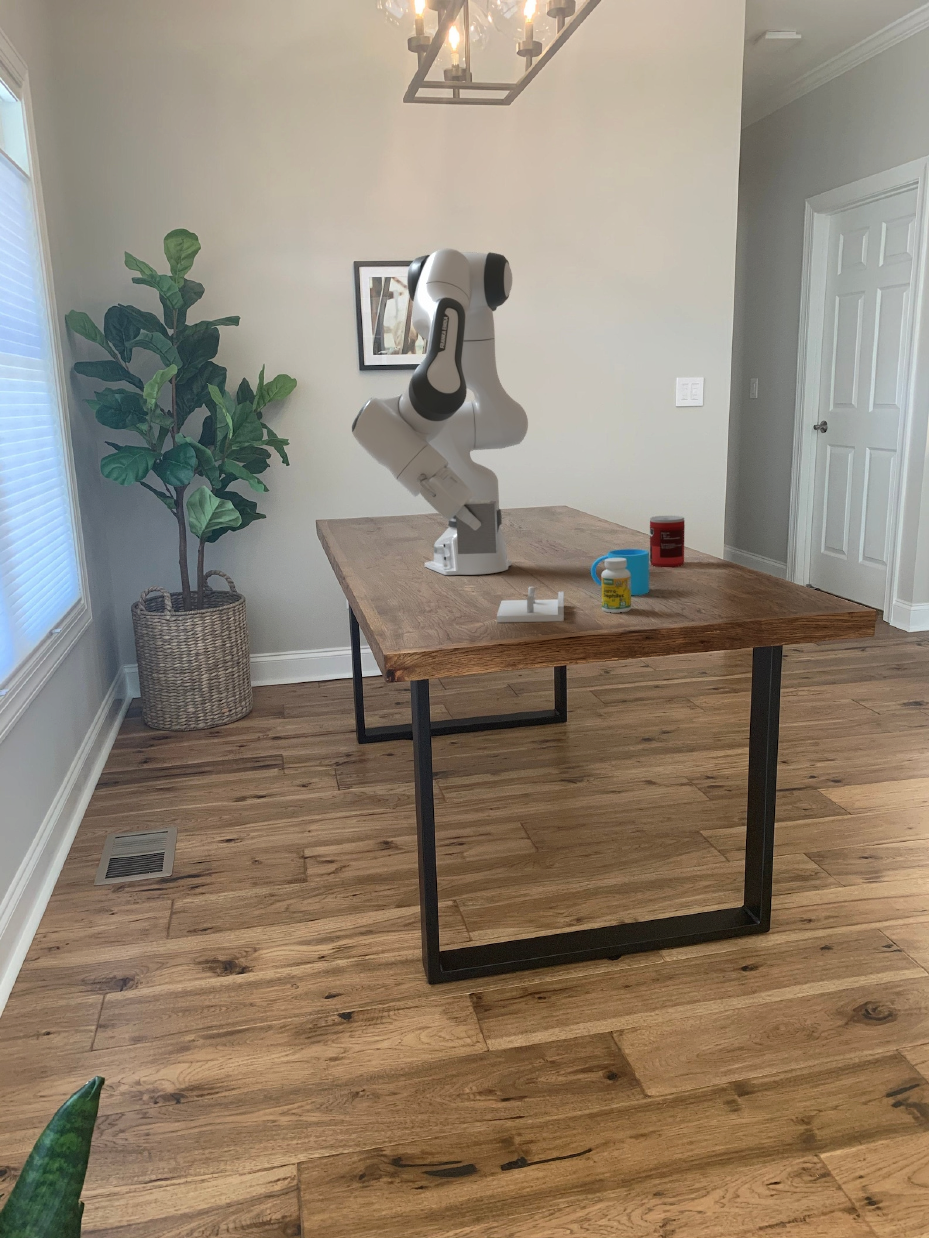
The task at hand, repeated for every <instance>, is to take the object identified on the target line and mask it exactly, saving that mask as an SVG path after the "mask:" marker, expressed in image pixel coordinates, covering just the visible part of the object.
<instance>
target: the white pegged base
mask: <svg viewBox="0 0 929 1238" xmlns="http://www.w3.org/2000/svg"><path fill="white" fill-rule="evenodd" d="M557 594H558V595H557V598H556V599H554V598H553V599H536V587H535V586H529V587H528V595H526V599H518V600H517V599H514V600H513V599H512V600H511V599H510V600H501V602H500V605H499V608H498V610H497V615H496V623H532V622H533V623H535V622H536V623H538V622H539V623H540V622H545V623H546V622H564V621H565V620H564V618H565V613H564V612H565V611H564V610H565V601H564V600H565V597H564V596H565V593H564V591H557Z"/></svg>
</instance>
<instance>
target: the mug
mask: <svg viewBox="0 0 929 1238" xmlns="http://www.w3.org/2000/svg"><path fill="white" fill-rule="evenodd" d="M608 558H625V559H626V560H627V566H626V567H625V569H627V570H628V571H629V572H630V574H631V595H639V596H643V595H642V594H644V595H646V594H645V593H647V594H649V593H650V550H649V551H648V550H646V549H639V548H625V549H624V548H621V549H614V550H610V551H608V552H607V554H605V555H603V556H600V557H597V559H596V560H595V561H594V562H593V563H592V564H591V568H590V573H591V578H592V579H593V581H594V582H595V583H596V584H597V585H599V587H602V584H601V580H600V579H599V577H598V576H597V573H596V571H597V567H598V565H599V564H600V563H601V562H603V561H605V559H608ZM648 592H649V593H648Z"/></svg>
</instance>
